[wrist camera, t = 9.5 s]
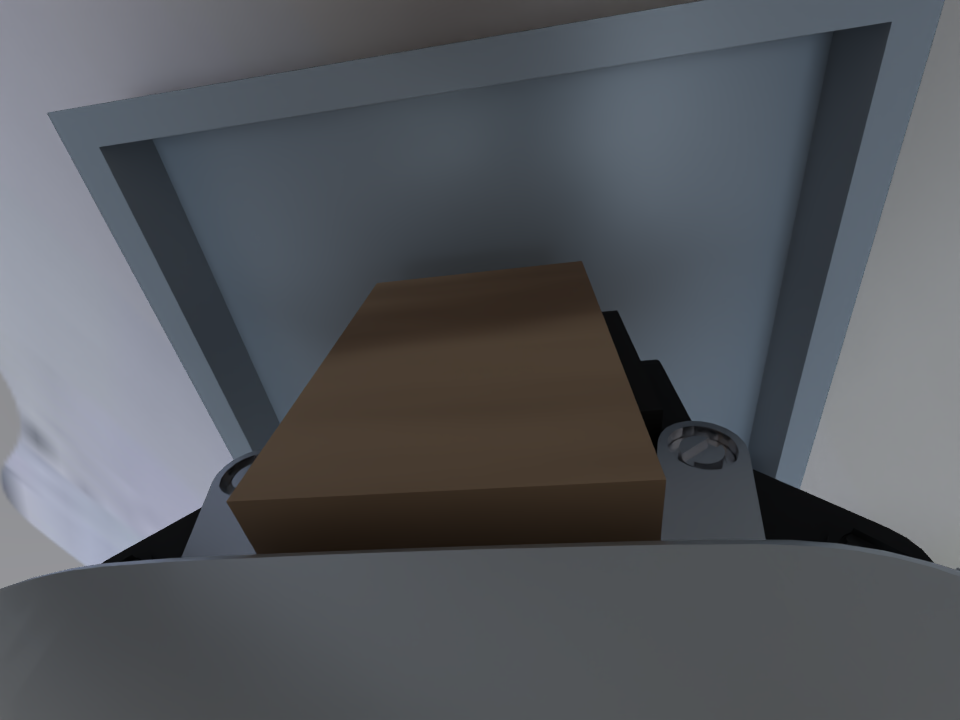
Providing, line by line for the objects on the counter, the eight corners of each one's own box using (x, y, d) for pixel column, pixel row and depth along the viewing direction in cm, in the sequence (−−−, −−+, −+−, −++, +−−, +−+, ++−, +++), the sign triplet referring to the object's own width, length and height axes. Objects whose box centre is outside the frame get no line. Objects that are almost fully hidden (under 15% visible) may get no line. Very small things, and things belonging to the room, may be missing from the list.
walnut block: (377, 282, 11) (226, 501, 5) (581, 261, 11) (666, 479, 5) (417, 438, 14) (345, 705, 8) (585, 427, 13) (644, 707, 7)
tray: (140, 107, 13) (47, 112, 10) (849, -12, 11) (957, -44, 8) (305, 476, 20) (274, 534, 17) (751, 451, 18) (792, 514, 15)
